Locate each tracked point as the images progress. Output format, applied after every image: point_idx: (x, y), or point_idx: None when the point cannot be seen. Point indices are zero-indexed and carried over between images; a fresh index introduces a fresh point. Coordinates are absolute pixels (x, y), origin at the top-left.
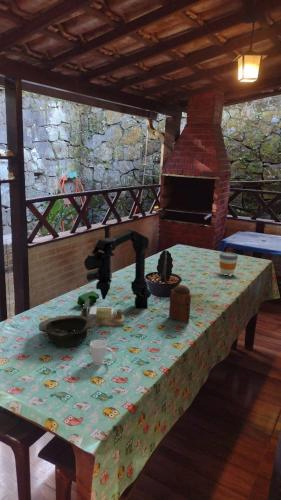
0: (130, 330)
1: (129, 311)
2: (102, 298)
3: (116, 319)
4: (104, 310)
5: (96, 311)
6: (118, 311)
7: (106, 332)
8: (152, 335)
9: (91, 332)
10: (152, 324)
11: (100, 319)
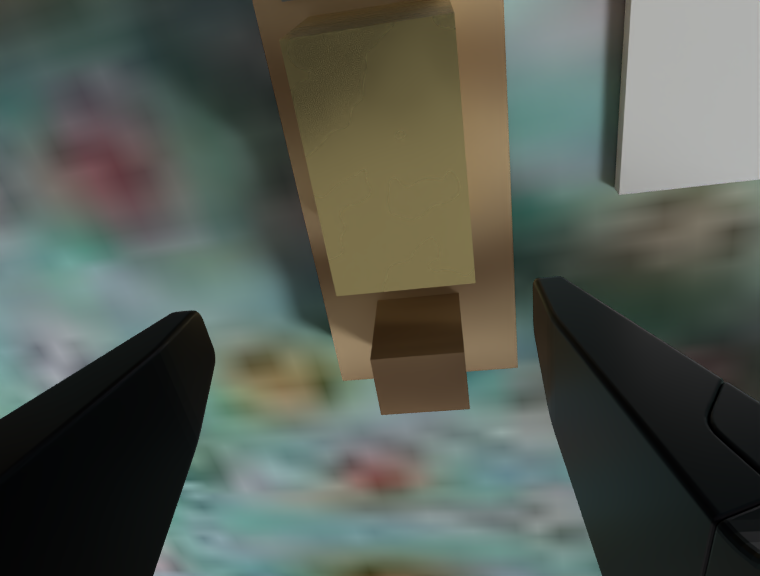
0: (262, 403)
1: (749, 356)
2: (158, 324)
3: (358, 300)
4: (346, 191)
5: (282, 40)
6: (399, 376)
7: (126, 197)
8: (232, 538)
9: (39, 8)
10: (431, 537)
11: None
